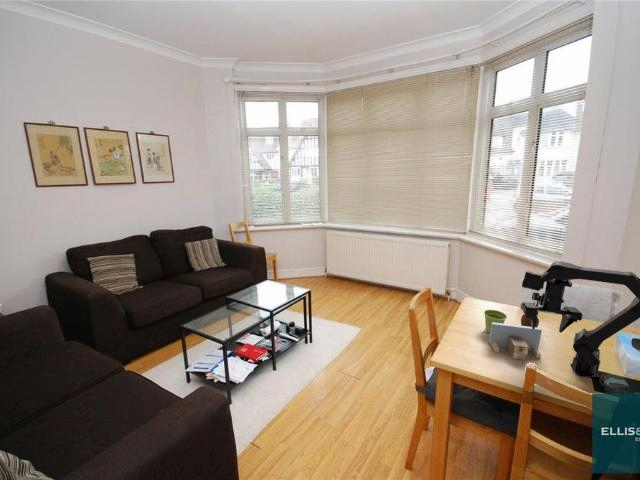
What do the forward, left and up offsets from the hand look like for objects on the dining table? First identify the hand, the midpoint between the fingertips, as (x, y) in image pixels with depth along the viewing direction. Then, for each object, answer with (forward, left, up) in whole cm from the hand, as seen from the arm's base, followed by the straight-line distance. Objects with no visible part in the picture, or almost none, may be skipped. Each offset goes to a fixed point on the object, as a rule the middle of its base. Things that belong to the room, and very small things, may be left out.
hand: (546, 330), depth 120 cm
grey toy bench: (+9, -2, -12) cm, 15 cm away
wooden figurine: (-2, -21, -12) cm, 24 cm away
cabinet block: (+9, +1, -12) cm, 15 cm away
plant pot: (+14, -16, -12) cm, 25 cm away
